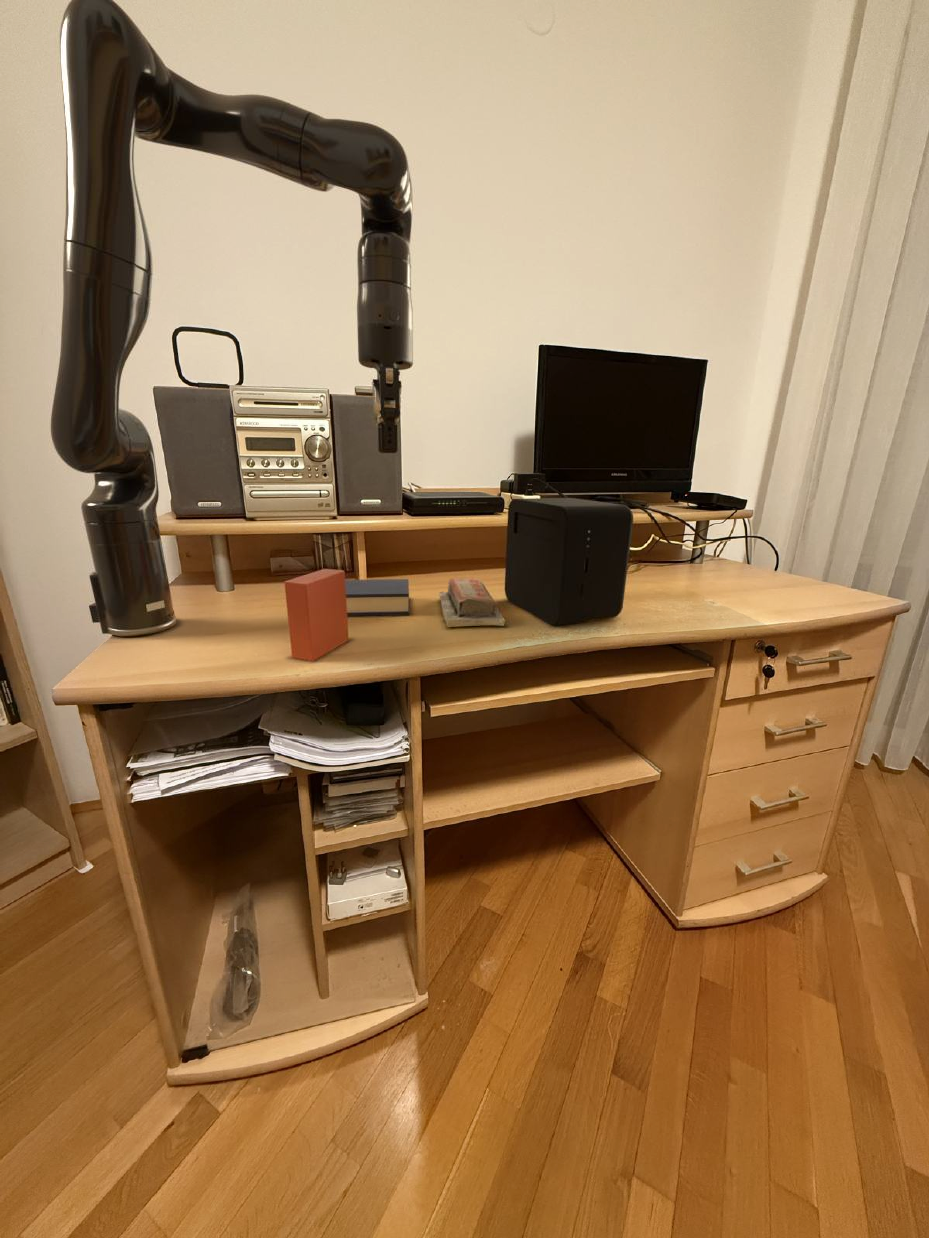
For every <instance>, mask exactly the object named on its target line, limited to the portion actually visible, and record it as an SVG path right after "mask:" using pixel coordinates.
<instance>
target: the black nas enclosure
mask: <svg viewBox="0 0 929 1238" xmlns="http://www.w3.org/2000/svg"><path fill="white" fill-rule="evenodd" d="M633 526H634V513H633V511H632V510H631V508H630V507H628V506H627V505H625V504H619V503H613V502H606V501H605V502H604V501H597V500H591V499H590V500H589V499H582V498H574V497H549V498H548V497H545V498H544V497H540V498H538V497H536V498H513V499H511V500H510V503H509V505H508V508H507V527H506V549H505V569H504V571H505V573H504V594H505V597H506V599H507V600H508V602H510V603H511V604H513V605H515V606H516V607H518V608H521V609H522V610H524V611H526V612H528V613H529V614H531V615H533V616H535V617H536V618H538V619H540V620H542V621H543V622H545V623H547V624H549V625H550V626H558V625H559V626H561V625H567V624H575V623H584V622H590V621H600V620H607V619H614V618H616V617H618V616H619V615H620V614H621V612H622V611H623V608H624V599H625V593H626V584H627V575H628V568H629V560H630V552H631V544H632V543H631V542H632V536H633V535H632V534H633Z"/></svg>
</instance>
